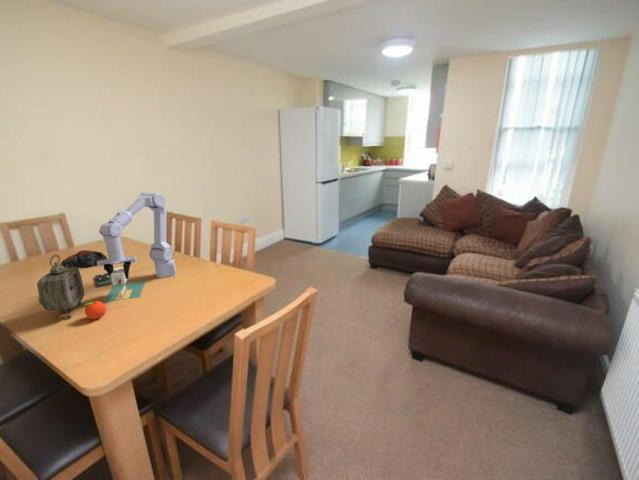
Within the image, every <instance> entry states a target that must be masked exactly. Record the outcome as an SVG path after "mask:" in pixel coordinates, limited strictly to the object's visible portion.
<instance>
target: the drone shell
mask: <svg viewBox="0 0 639 480" xmlns="http://www.w3.org/2000/svg"><path fill="white" fill-rule="evenodd" d="M106 259H108V256H107V255H105V254H104V253H102V252H101V251H96V250H84V249H82V250H79V251H78V252H77V253H74V254H71V255H70V256H68V257H66V258H65V259H63V260H62V261H60V263H61V265H63V267H65V268H66V269H72V268H78V269H84V268H85V269H86V268H87V269H88V268H89V267H90V268H93V267H94V268H95V267H98V266H97V261H100V260H106ZM88 266H89V267H88Z"/></svg>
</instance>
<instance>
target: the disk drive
mask: <svg viewBox="0 0 639 480" xmlns="http://www.w3.org/2000/svg"><path fill="white" fill-rule="evenodd" d="M94 277H95V282H96V286H97V288H101V287H106V286H111V285H113V283H112V279H111V276H110V275H109V274H108V272H105V273H104V274H96V275H94ZM121 283H122V282H121V277H120V279H119V281H118V283H117V284H121Z"/></svg>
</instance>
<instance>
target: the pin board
mask: <svg viewBox="0 0 639 480" xmlns="http://www.w3.org/2000/svg"><path fill="white" fill-rule="evenodd" d="M145 284H146V280H140V281H131V282H126V283H125V284H122V283H117V284H116V285H113V284H112V286H111V288H110V290H109V292H108V293H107V295H106V296H105V298H104V300H103V302H102V303H103V304H105V303H110V302H117V301H124V300H132V299H137V298H141V294H142V293H143V289H144V288H145Z"/></svg>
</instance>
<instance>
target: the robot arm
mask: <svg viewBox="0 0 639 480" xmlns="http://www.w3.org/2000/svg"><path fill="white" fill-rule="evenodd" d="M145 207H147V208H148V209H150V210H151V211H152V212H153V232H154V233H153V234H154V235H153V240H154V243H152V244H151V245H150V251H149V252H148V254H149V258H150V259H151V260H152V261H153V264H154V270H155V273H156V274H155V275H156V277H157V278H158V279H163V278H168V277H173V278H174V279H175V278H176V276H177V269H176V263H175V259H172V258H173V251H172V246H171V245H170V244H169V243H168V242H167V208H166V198H165V196H164V195H163V194H162V193H160V192H157V193H156V192H145V191H144V192H141V193H140V194H139V195H137V199H135V200H134V201H133V203H132V204H130V206H129V207H128V208H127V209H126V210H121V211H117V212H116V214H115V216H113V217H112V218H111V219H109V220H108V222H103V223H102V224H101V225H100V227H99V230H98V233H99V234H100V235H101V236H102V238H103V240H104V243H105V249H106V253H107V259H106V260H100V261H97V266H96V267H101V266H103V269H104V270H105V272H106V273H108V274H109V275H110V276H111V274H112V272H113V271H114V265H117V264H118V265H119V264H122V267H123V268H124V271H125V277H126V279H127V280H128V279H129V277H130V274H129V273H130V267H131V264H132V263H137V256H125V254H124V250H123V245H122V240H121V235H122V233H123V230H124V228H125V227H127V225H128V224H130V223H131V221H132V220H133V217H134V215H136V214H137V213H138V212H140V211H141V210H142V209H143V208H145Z"/></svg>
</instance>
